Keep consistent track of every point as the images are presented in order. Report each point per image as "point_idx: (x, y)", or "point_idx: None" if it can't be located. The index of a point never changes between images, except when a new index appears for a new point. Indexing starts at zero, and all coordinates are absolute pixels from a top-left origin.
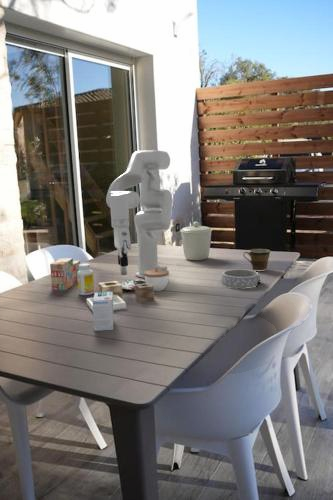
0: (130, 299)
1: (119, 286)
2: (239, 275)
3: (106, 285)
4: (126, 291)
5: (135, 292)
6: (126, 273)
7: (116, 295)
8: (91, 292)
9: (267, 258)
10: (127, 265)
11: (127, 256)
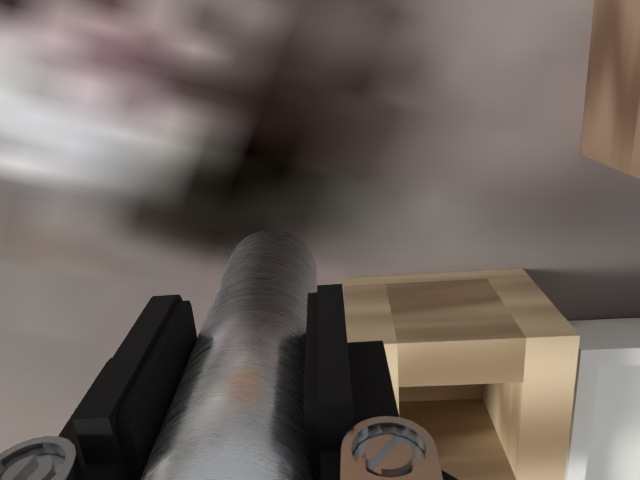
0: (587, 209)
1: (570, 354)
2: None
3: None
4: (282, 180)
5: (616, 167)
6: (301, 246)
7: (610, 360)
8: None
9: None
10: (341, 292)
11: (426, 431)
